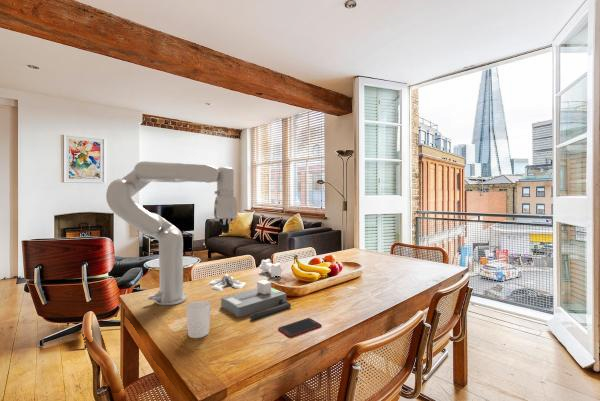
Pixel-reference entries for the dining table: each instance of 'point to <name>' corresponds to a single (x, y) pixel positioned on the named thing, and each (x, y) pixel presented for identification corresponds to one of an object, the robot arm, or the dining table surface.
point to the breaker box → (251, 301)
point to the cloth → (226, 283)
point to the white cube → (264, 287)
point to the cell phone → (299, 327)
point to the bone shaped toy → (271, 268)
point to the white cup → (198, 318)
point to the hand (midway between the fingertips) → (225, 232)
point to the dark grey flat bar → (271, 310)
